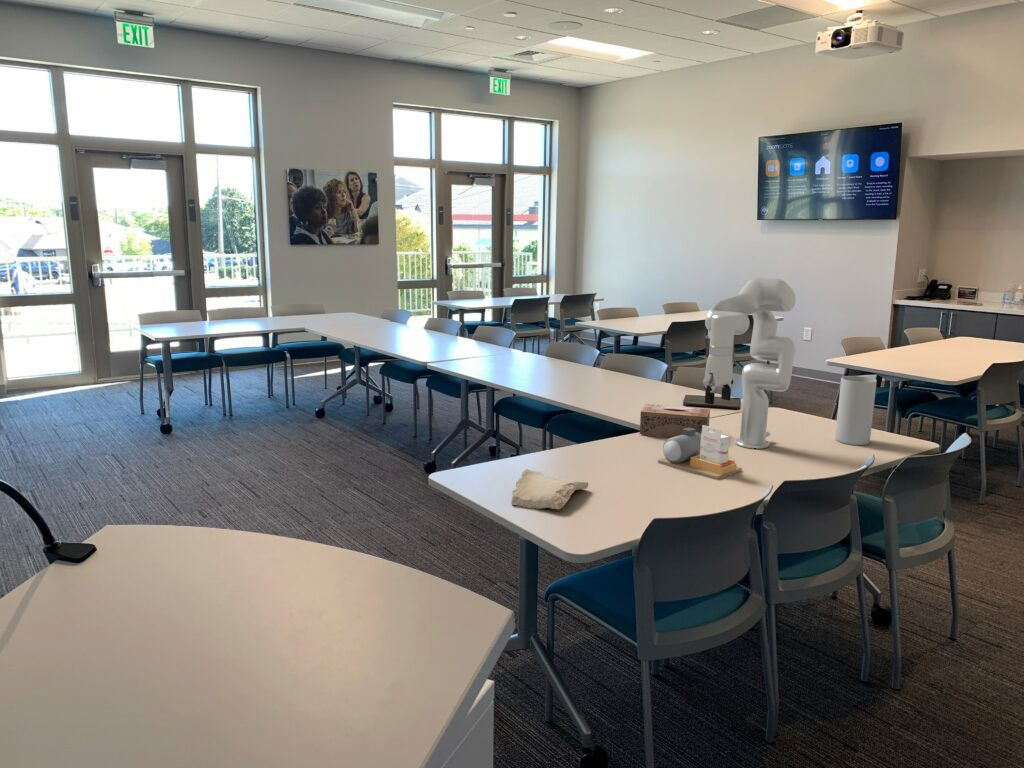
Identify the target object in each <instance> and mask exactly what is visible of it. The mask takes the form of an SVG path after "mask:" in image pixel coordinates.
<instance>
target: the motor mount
mask: <svg viewBox="0 0 1024 768" xmlns="http://www.w3.org/2000/svg"><path fill="white" fill-rule="evenodd" d="M700 444H701V434H700V433H698V432H696V429H694V428H689V427H688V428H685V429H682V435H679V436H676V437H672V438H667V439H665V441H664V443H663V445H662V451H663V455H664V458H660V459H657V463H658V464H661V465H664V466H667V465H668V467H672V468H674V467H675V469H678V468H679V469H678V470H681V469H682V470H681V471H686V472H688V471H689V472H688V473H692V472H693V473H692V474H695V473H696V475H699V474H700V475H699V476H702V475H703V476H702V477H706V476H707V477H706V478H709V477H710V478H709V479H713V478H714V479H713V480H716V479H718V480H720V479H723V478H725V476H726V477H728V476H731V475H734V474H736V473H739V472H742V471H743V469H742V467H741V466H738V465H737V463H735V461H736V460H733V459H730V458H728V464H727V466H726V467H723V468H722V465H720V464H716V463H713V462H709V461H705V460H701V459H700ZM741 470H742V471H741ZM738 471H739V472H738ZM733 473H734V474H733ZM730 474H731V475H730ZM722 477H723V478H722ZM719 478H720V479H719Z"/></svg>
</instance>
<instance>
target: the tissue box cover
mask: <svg viewBox="0 0 1024 768" xmlns="http://www.w3.org/2000/svg"><path fill="white" fill-rule="evenodd" d="M710 415H711V409H710V408H701V407H691V406H679V405H668V404H656V403H655V404H653V403H646V404H645V405H644V406H643V408H642V409H641V411H640V419H639V420H640V421H639V424H640V425H639V435H640V434H643V435H642V436H646V435H651V436H650V437H656V436H660V437H659V438H666V437H670V438H672V437H676V436H679V435H682V429H685V428H688V427H689V428H694V429H696V432H698V433H700V434H701V433H702V426H703V425H706V426H710V419H711V418H710ZM708 431H710V430H708Z"/></svg>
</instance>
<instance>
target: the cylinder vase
mask: <svg viewBox="0 0 1024 768" xmlns="http://www.w3.org/2000/svg"><path fill="white" fill-rule="evenodd" d="M876 390H877V379H875V378H872V377H867V376H860V375H859V376H857V375H846V376H841V378H840V385H839V395H838V396H839V399H838V405H837V407H838V408H837V416H836V427H835V435H834V436H835V437H834V438H835V440H836V441H837V442H839V443H842V444H846V445H851V446H866V445H868V444H870V442H871V436H872V428H873V427H872V426H873V417H874V408H875V407H874V406H875V401H876V399H875V398H876Z"/></svg>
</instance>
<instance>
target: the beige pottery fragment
mask: <svg viewBox="0 0 1024 768" xmlns="http://www.w3.org/2000/svg"><path fill="white" fill-rule="evenodd" d="M588 487H589V482H588V481H586V480H585V481H584V480H579V479H578V480H573V479H564V478H557V477H553V476H550V475H547V474H544V473H543V472H541V471H535V470H531V469H528V468H526V469H523V471H522V472H521V477H520V478H518V479H517V480H516V483H515V488H514V489H513V490H512V492H511V493H512V494H511V501H510V502H511V505H512V506H513V505H519V506H518V507H520V506H523V507H522V508H527V507H528V508H527V509H533V508H536V509H540V510H542V509H546V508H548V509H551V510H561V509H563V508H564V507H565V505H566V504H567V502H568V501H569V499H571V496H572V494H573V493H575V491H579V490H586V489H588Z"/></svg>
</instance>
